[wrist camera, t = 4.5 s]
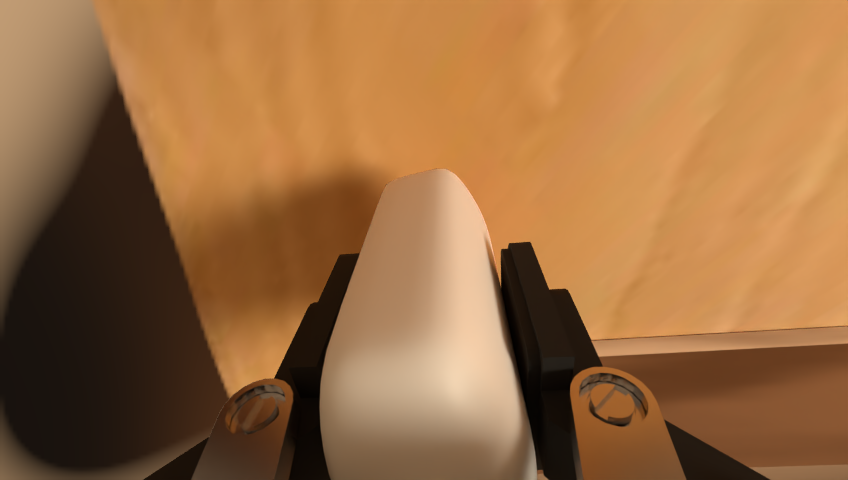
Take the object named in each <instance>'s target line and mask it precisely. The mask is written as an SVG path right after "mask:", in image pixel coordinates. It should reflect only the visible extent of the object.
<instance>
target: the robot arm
mask: <svg viewBox="0 0 848 480" xmlns="http://www.w3.org/2000/svg"><path fill="white" fill-rule="evenodd" d="M359 255H360V253H358V254H343V255H340V256H339V257H338V259H337V262H336V264H335V266H334V268H333V270H332V273H331V275H330V277H329V279H328V281H327V284H326V286H325V288H324V290H323V292H322V295H321V297H320V299H319V301H318V302H316V303H312V304H310V306H309V307H308V309H307V311H306V313H305V315H304V317H303V320H302V322H301V324H300V326H299V328H298V330H297V332H296V334H295V336H294V338H293V340H292V342H291V344H290V347H289V349H288V351H287V353H286V355H285V357H284V359H283V361H282V363H281V365H280V367H279V369H278V371H277V374H276V376H275V378H274V379H263V380H259V381H256V382H253V383H251V384H249V385H247V386H245V387H243V388H242V389H240V390H239V391H238V392H236V393H235V394H234V395H233V396H232V397H231V398H230V399H229V400H228V401H227V402H226V403H225V404H224V406H223V408H222V410H221V411H220V413H219V415H218V417H217V420H216V422H215V425H214V427H213V429H212V432H211V434H210V437H208V438H207V439H205V440H203V441H202V442H200V443H199V444H197V445H196V446H194V447H193V448H191V449H190V450H188V451H187V452H185V453H184V454H182V455H180V456H179V457H177V458H176V459H174V460H173V461H171V462H170V463H168V464H167V465H165V466H164V467H162V468H161V469H159V470H157V471H156V472H154V473H153V474H151V475H150V476H148V477H147V478H145V479H144V480H331V479H330V476H329V473H328V468H327V464H326V460H325V455H324V450H323V443H322V436H321V428H320V385H321V377H322V371H323V366H324V361H325V356H326V351H327V348H328V345H329V342H330V339H331V336H332V332H333V329H334V326H335V323H336V320H337V317H338V314H339V311H340V308H341V305H342V302H343V299H344V297H345V294H346V291H347V288H348V285H349V283H350V280H351V277H352V274H353V271H354V269H355V266H356V263H357V260H358V257H359ZM501 291H502V296H503V300H504V305H505V310H506V314H507V319H508V324H509V328H510V333H511V338H512V342H513V347H514V352H515V356H516V361H517V366H518V370H519V375H520V380H521V385H522V389H523V394H524V399H525V403H526V408H527V413H528V418H529V422H530V427H531V433H532V438H533V443H534V449H535V455H536V464H537V470H543V474H544V476H545V477H546V478H547V479H549V480H770V479H768V478H767V477H765V476H763V475H761V474H760V473H758V472H756V471H754V470H753V469H751V468H749V467H747V466H746V465H744V464H742V463H740V462H739V461H737V460H735V459H733V458H731V457H730V456H728V455H726V454H724V453H723V452H721V451H719V450H717V449H716V448H714V447H712V446H710V445H709V444H707V443H705V442H703V441H701V440H700V439H698V438H696V437H694V436H693V435H691V434H689V433H687V432H686V431H684V430H682V429H680V428H679V427H677V426H675V425H673V424H672V423H670V422H668V421H666V420H664V419H663V416H662V414H661V411H660V408H659V406H658V403H657V401H656V399H655V397H654V396H653V394H652V392H651V391H650V390H649V389H648V388H647V387H646V386H645V385H644V384H643V383H642V382H641V381H640V380H638V379H637V378H635V377H634V376H632V375H630V374H628V373H626V372H623V371H621V370H618V369H614V368H609V367H603V365H602V363H601V361H600V358H599V356H598V354H597V352H596V350H595V348H594V345H593V343H592V341H591V339H590V337H589V335H588V332H587V330H586V328H585V326H584V324H583V321H582V319H581V317H580V315H579V313H578V311H577V308H576V306H575V304H574V302H573V300H572V298H571V295H570V293H569V292H568V290H566V289H552V290H549V288H548V286H547V283H546V281H545V278H544V275H543V273H542V270H541V268H540V265H539V263H538V260H537V257H536V255H535V252H534V250H533V247H532V245H531V243H530V242H522V243H509V245H508V249H501Z"/></svg>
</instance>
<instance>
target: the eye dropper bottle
mask: <svg viewBox="0 0 848 480" xmlns="http://www.w3.org/2000/svg"><path fill="white" fill-rule="evenodd" d="M320 428H321V436H322V443H323V450H324V455H325V460H326V464H327V468H328V473H329V476H330V479H331V480H537V464H536V455H535V449H534V443H533V438H532V433H531V427H530V422H529V418H528V413H527V408H526V403H525V399H524V394H523V389H522V385H521V380H520V375H519V370H518V366H517V361H516V356H515V352H514V347H513V342H512V338H511V333H510V328H509V324H508V319H507V314H506V310H505V305H504V300H503V296H502V291H501V286H500V282H499V277H498V272H497V268H496V263H495V258H494V254H493V249H492V244H491V240H490V236H489V232H488V229H487V226H486V223H485V221H484V218H483V216H482V214H481V212H480V209H479V207H478V205H477V204H476V202H475V200H474V198H473V197H472V195H471V194H470V192H469V191H468V189H467V188H466V186H465V185H464V184H463V182H462V181H461V180H460V179H459V178H458V177H457V176H456V175H455V174H454V173H452V172H451V171H449V170H447V169H433V170H428V171H424V172H420V173H416V174H412V175H408V176H404V177H401V178H397V179H394V180H393V181H391V182H389V183H388V184H386V186H385V188H384V190H383V192H382V194H381V197H380V200H379V202H378V205H377V208H376V211H375V213H374V216H373V219H372V221H371V224H370V227H369V230H368V232H367V235H366V238H365V241H364V243H363V246H362V249H361V252H360V255H359V257H358V260H357V263H356V266H355V269H354V271H353V274H352V277H351V280H350V283H349V285H348V288H347V291H346V294H345V297H344V299H343V302H342V305H341V308H340V311H339V314H338V317H337V320H336V323H335V326H334V329H333V332H332V336H331V339H330V342H329V345H328V348H327V351H326V356H325V361H324V366H323V371H322V377H321V385H320Z"/></svg>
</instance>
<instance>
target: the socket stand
mask: <svg viewBox="0 0 848 480" xmlns="http://www.w3.org/2000/svg"><path fill="white" fill-rule="evenodd" d="M592 343H593V345H594V348H595V350H596V352H597V354H598V356H599V358H600V361H601V363H602V365H603V367H609V368H614V369H618V370H621V371H623V372H626V373H628V374H630V375H632V376H634V377H635V378H637V379H638V380H640V381H641V382H642V383H643V384H644V385H645V386H646V387H647V388H648V389H649V390H650V391H651V392H652V394H653V396H654V397H655V399H656V401H657V403H658V406H659V408H660V411H661V414H662V416H663V419H664V420H666V421H668V422H670V423H672V424H673V425H675V426H677V427H679V428H680V429H682V430H684V431H686V432H687V433H689V434H691V435H693V436H694V437H696V438H698V439H700V440H701V441H703V442H705V443H707V444H709V445H710V446H712V447H714V448H716V449H717V450H719V451H721V452H723V453H724V454H726V455H728V456H730V457H731V458H733V459H735V460H737V461H739V462H740V463H742V464H744V465H746V466H747V467H749V468H751V469H753V470H754V471H756V472H758V473H760V474H761V475H763V476H765V477H767V478H768V479H770V480H848V326H844V327H827V328H809V329H791V330H773V331H756V332H738V333H720V334H702V335H685V336H667V337H649V338H631V339H613V340H596V341H592ZM537 480H549V479H547V478H546V477H545V476H544V474H543V470H537Z"/></svg>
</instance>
